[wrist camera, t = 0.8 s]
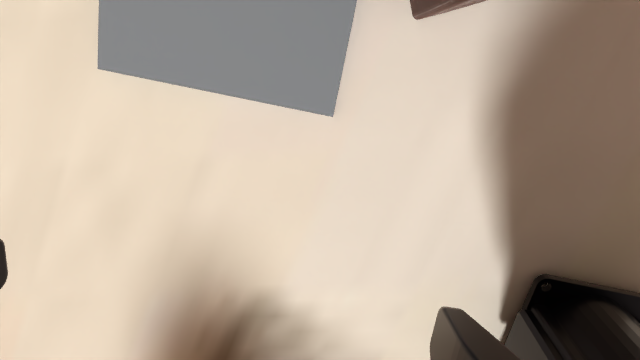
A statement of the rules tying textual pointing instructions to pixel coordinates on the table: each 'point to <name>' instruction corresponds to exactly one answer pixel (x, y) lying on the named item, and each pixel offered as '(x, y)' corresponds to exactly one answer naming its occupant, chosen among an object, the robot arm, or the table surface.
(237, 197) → the table surface
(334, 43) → the mat
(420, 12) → the box
